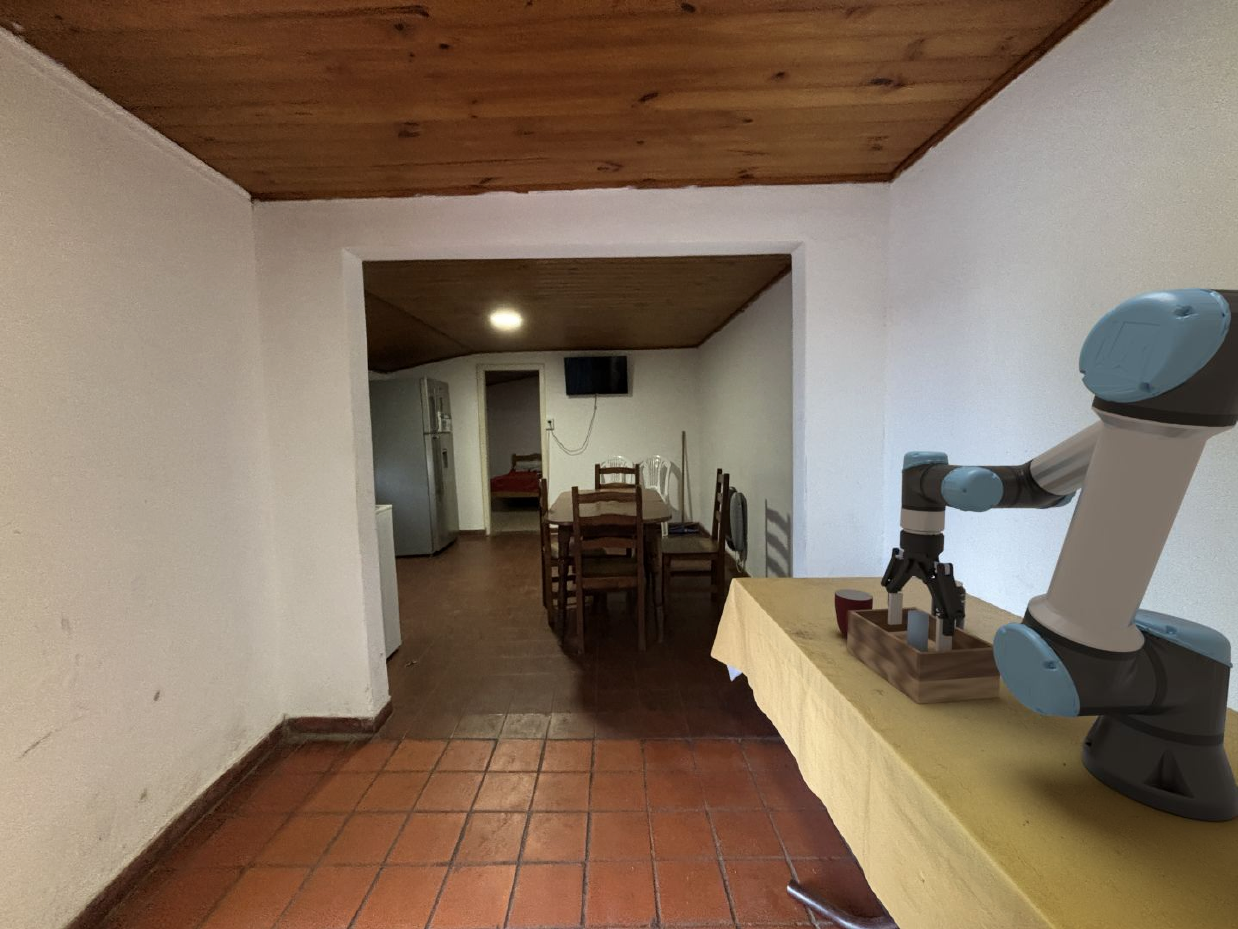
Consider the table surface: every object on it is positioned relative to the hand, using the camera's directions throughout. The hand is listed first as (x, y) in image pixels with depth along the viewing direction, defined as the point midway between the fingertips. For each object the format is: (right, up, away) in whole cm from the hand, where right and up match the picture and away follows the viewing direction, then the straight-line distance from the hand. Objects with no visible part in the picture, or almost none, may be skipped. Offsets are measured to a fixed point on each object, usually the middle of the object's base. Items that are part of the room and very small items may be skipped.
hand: (917, 636), depth 104 cm
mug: (-5, -6, +17) cm, 19 cm away
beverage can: (+19, -6, +21) cm, 29 cm away
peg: (0, -7, +1) cm, 7 cm away
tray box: (0, -7, +1) cm, 7 cm away
